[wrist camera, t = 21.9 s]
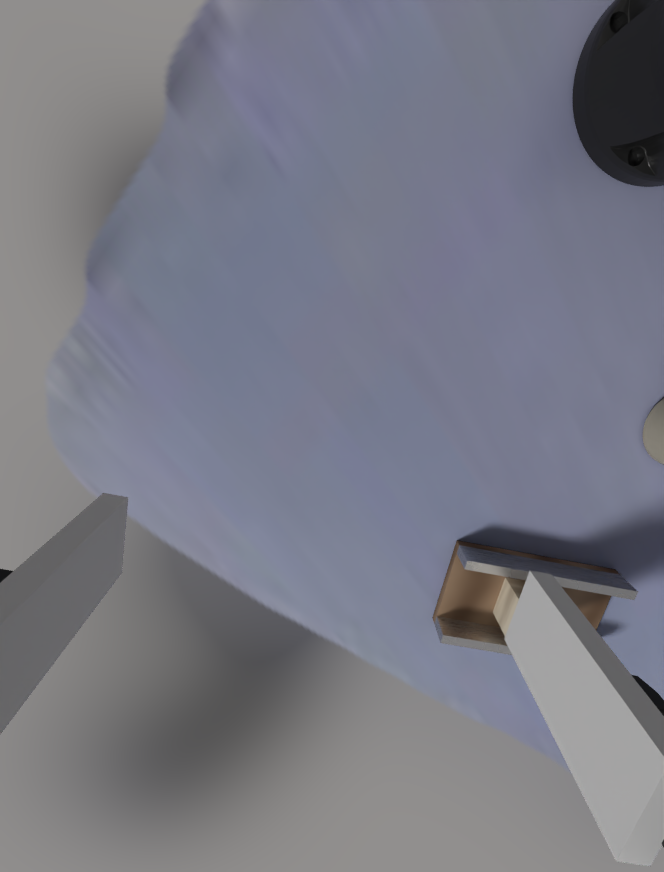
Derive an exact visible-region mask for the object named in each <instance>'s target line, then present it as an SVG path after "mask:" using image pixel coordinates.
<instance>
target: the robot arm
mask: <svg viewBox="0 0 664 872" xmlns="http://www.w3.org/2000/svg"><path fill="white" fill-rule="evenodd" d="M573 112H574V119H575V124H576V128H577V131H578V134H579V137H580V140H581V142H582V144H583V146H584V148H585V150H586V152H587V153H588V155H589V156H590V157H591V159H592V160H593V161H594V162H595V163H596V165H597V166H598V167H599V168H601V169H602V170H603V171H604V172H605V173H607V174H608V175H610V176H611V177H613V178H615V179H617V180H619V181H621V182H624V183H627V184H631V185H636V186H644V187H653V186H662V185H664V0H615V1H614V2H613V3H612V4H611V5H610V6H609V7H608V8H607V10H606V11H605V12H604V13H603V15H602V16H601V17H600V19H599V20H598V22H597V23H596V25H595V26H594V28H593V29H592V31H591V33H590V35H589V37H588V39H587V41H586V43H585V45H584V48H583V50H582V53H581V55H580V58H579V61H578V65H577V69H576V74H575V79H574V86H573ZM127 506H128V497H123V496H118V495H112V494H107V493H103V494H102V495H100V496H99V497H98V498H97V499H96V500H95V501H94V502H93V503H91V504H90V505H89V506H88V507H87V508H86V509H84V510H83V511H82V512H81V513H80V514H79V515H78V516H76V517H75V518H74V519H73V520H72V521H71V522H70V523H68V524H67V525H66V526H65V527H64V528H63V529H61V530H60V531H59V532H58V533H57V534H56V535H55V536H53V537H52V538H51V539H50V540H49V541H48V542H47V543H46V544H44V545H43V546H42V547H41V548H40V549H38V551H36V552H35V553H34V554H33V555H32V556H30V557H29V558H28V559H27V560H26V561H25V562H24V563H23V564H21V565H20V566H19V567H18V568H17V569H16V570H14V571H9V570H3V569H0V734H1V733H2V732H3V730H4V729H5V728H6V726H7V725H8V724H9V722H10V721H11V720H12V718H13V717H14V716H15V714H16V713H17V712H18V710H19V709H20V708H21V706H22V705H23V704H24V702H25V701H26V700H27V698H28V697H29V695H30V694H31V693H32V692H33V690H34V689H35V688H36V686H37V685H38V684H39V682H40V681H41V680H42V678H43V677H44V676H45V674H46V673H47V672H48V670H49V669H50V668H51V666H52V665H53V664H54V662H55V661H56V660H57V658H58V657H59V656H60V654H61V653H62V652H63V650H64V649H65V648H66V646H67V645H68V644H69V642H70V641H71V640H72V638H73V637H74V636H75V634H76V633H77V632H78V630H79V629H80V628H81V626H82V625H83V624H84V623H85V621H86V620H87V619H88V617H89V616H90V614H91V613H92V612H93V610H94V609H95V608H96V607H97V605H98V604H99V603H100V601H101V600H102V599H103V597H104V596H105V595H106V593H107V591H108V590H109V589H110V588H111V587H112V585H113V584H114V583H115V581H116V580H117V579H118V577H119V576H120V575H121V573H122V564H123V552H124V540H125V529H126V517H127ZM504 640H505V642H506V644H507V645H508V647H509V649H510V651H511V653H512V655H513V657H514V659H515V661H516V663H517V665H518V667H519V669H520V671H521V673H522V675H523V677H524V679H525V681H526V683H527V685H528V687H529V689H530V691H531V693H532V695H533V697H534V699H535V701H536V703H537V705H538V707H539V709H540V711H541V713H542V715H543V717H544V719H545V721H546V723H547V725H548V727H549V729H550V731H551V733H552V735H553V737H554V739H555V741H556V743H557V745H558V747H559V749H560V751H561V753H562V755H563V757H564V759H565V761H566V763H567V765H568V767H569V769H570V771H571V773H572V775H573V777H574V779H575V781H576V782H577V784H578V786H579V788H580V790H581V792H582V794H583V796H584V798H585V800H586V802H587V804H588V806H589V808H590V810H591V812H592V814H593V816H594V818H595V820H596V822H597V824H598V826H599V828H600V830H601V832H602V834H603V836H604V838H605V840H606V842H607V844H608V846H609V848H610V850H611V852H612V854H613V856H614V858H615V860H616V861H618V862H625V863H631V864H639V865H645V866H651V864H652V863H653V861H654V859H655V857H656V856H657V854H658V852H659V851H660V849H661V847H662V845H663V847H664V700H663V699H662V698H661V696H660V695H659V694H658V693H657V692H656V691H655V690H654V689H652V688H651V687H650V686H649V685H648V684H646V683H645V682H644V681H643V680H642V679H640V678H639V677H638V676H634V675H631V674H630V673H629V672H628V670H627V669H626V668H625V667H624V665H623V664H622V663H621V662H620V660H619V659H618V658H617V656H616V655H615V654H614V653H613V651H612V650H611V649H610V648H609V646H608V645H607V644H606V643H605V641H604V640H603V639H602V637H601V636H600V635H599V634H598V632H597V631H596V630H595V629H594V627H593V626H592V625H591V624H590V622H589V621H588V620H587V618H586V617H585V616H584V615H583V613H582V612H581V611H580V610H579V608H578V607H577V606H576V605H575V603H574V602H573V601H572V599H571V598H570V597H569V596H568V594H567V593H566V592H565V591H564V589H563V588H562V587H561V586H560V584H559V583H558V582H557V580H556V579H555V578H554V577H553V575H551V574H546V573H540V572H535V571H529V574H528V576H527V579H526V582H525V585H524V587H523V590H522V593H521V595H520V598H519V601H518V603H517V606H516V609H515V611H514V614H513V617H512V619H511V622H510V625H509V628H508V630H507V633H506V636H505V638H504Z"/></svg>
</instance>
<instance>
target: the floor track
mask: <svg viewBox="0 0 664 872" xmlns="http://www.w3.org/2000/svg"><path fill="white" fill-rule="evenodd" d="M529 571H535V572H540V573H546V574H551V575H553V577H554V578H555V579H556V580H557V582H558V583H559V584H560V586H561V587H562V588H563V589H564V591H565V592H566V593H567V594H568V596H569V597H570V598H571V599H572V601H573V602H574V603H575V605H576V606H577V607H578V608H579V610H580V611H581V612H582V613H583V615H584V616H585V617H586V618H587V620H588V621H589V622H590V624H591V625H592V626H593V627H594V629H595V630H597V627H598V625H599V623H600V621H601V618H602V616H603V614H604V611H605V609H606V607H607V605H608V602H609V600H610V598H611V596H615V597H621V598H626V599H632V600H634V599H635V597H636V595H637V593H638V591H637V590H636V589H635V588H634V587H633V586H632V585H631V584H630V583H629V582H628V581H626V580H625V579H624V578H623V577H622V576H621V575H620V574H619V573H618V572H617V571H616V570H615V569H609V568H604V567H599V566H593V565H588V564H582V563H577V562H571V561H566V560H561V559H555V558H550V557H544V556H539V555H533V554H528V553H522V552H517V551H512V550H506V549H501V548H495V547H490V546H484V545H479V544H474V543H468V542H463V541H457V542H456V545H455V548H454V551H453V554H452V558H451V561H450V564H449V567H448V570H447V573H446V577H445V580H444V583H443V586H442V589H441V593H440V596H439V599H438V602H437V605H436V608H435V612H434V615H433V621H434V624H435V627H436V630H437V633H438V636H439V640H440V643H444V644H450V645H456V646H462V647H468V648H474V649H480V650H486V651H491V652H497V653H503V654H509V655H512V653H511V651H510V649H509V647H508V645H507V644H506V642H505V640H504V638H505V635H504V633H503V631H502V629H501V627H500V626H499V624H498V622H497V620H496V618H495V616H494V614H493V610H494V607H495V605H496V602H497V599H498V596H499V593H500V591H501V588H502V585H503V582H504V580H505V578H511V579H516V580H522V581H526V579H527V576H528V574H529Z"/></svg>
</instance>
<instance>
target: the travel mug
mask: <svg viewBox="0 0 664 872" xmlns="http://www.w3.org/2000/svg"><path fill="white" fill-rule="evenodd" d="M643 442H644V446H645V448H646V450H647V452H648V454H649V455H650V456H651V457H652V458H653V459H654V460H656V461H657V462H659V463H661V464H663V465H664V398H663V399H662V400H661V401H660V402H659V403H657V404H656V406H655V407H654V408H653V409H652V410H651V412H650V413H649V415H648V417H647V419H646V421H645V424H644V428H643Z"/></svg>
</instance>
